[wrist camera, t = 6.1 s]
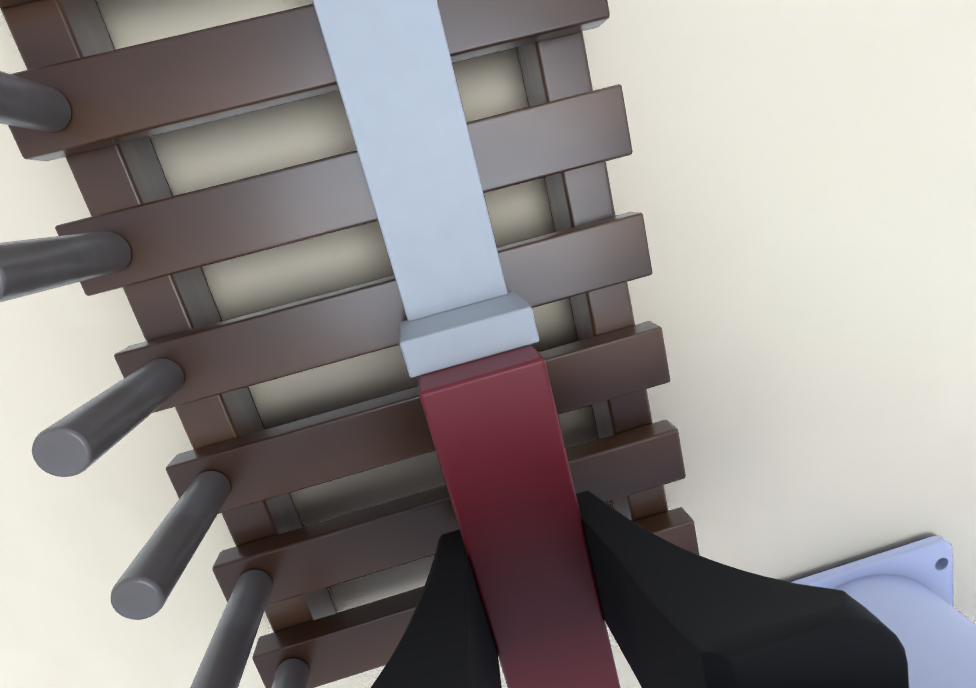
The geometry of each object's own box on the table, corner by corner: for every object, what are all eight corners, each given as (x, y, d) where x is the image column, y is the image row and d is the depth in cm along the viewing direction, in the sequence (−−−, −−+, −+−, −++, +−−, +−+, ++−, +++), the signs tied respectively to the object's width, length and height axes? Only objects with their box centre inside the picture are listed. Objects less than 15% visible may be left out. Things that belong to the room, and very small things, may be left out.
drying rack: (661, 519, 20) (795, 688, 13) (292, 634, 19) (229, 878, 12) (537, -159, 14) (656, -483, 7) (3, -43, 13) (-415, -293, 6)
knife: (598, 644, 16) (639, 740, 14) (506, 674, 16) (528, 777, 13) (361, -351, 10) (343, -569, 7) (205, -322, 10) (124, -533, 7)
